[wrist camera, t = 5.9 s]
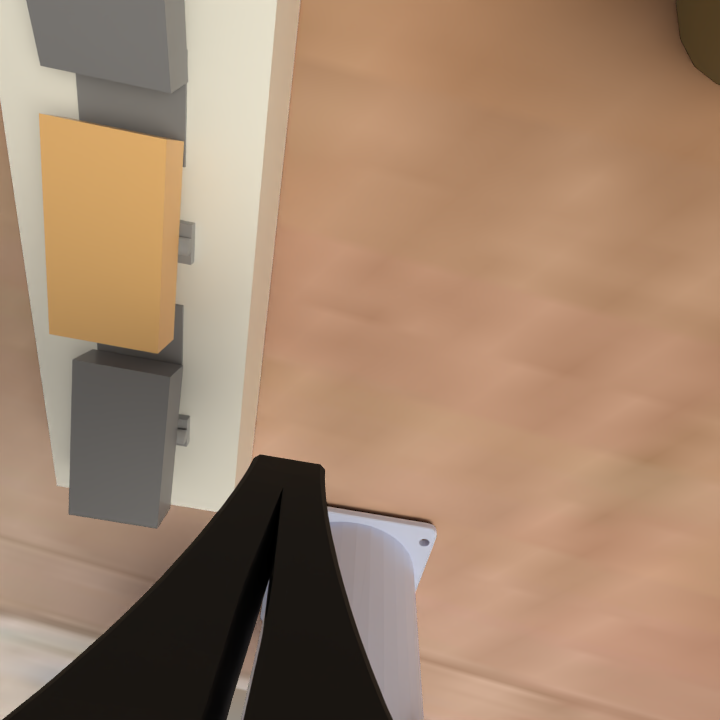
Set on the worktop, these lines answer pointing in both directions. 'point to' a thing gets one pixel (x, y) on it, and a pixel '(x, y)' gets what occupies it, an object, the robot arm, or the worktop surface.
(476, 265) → the worktop surface
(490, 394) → the worktop surface
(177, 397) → the block
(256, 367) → the rocker switch panel
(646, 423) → the worktop surface
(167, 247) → the rocker middle
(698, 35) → the olive-brown rounded piece
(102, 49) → the block
